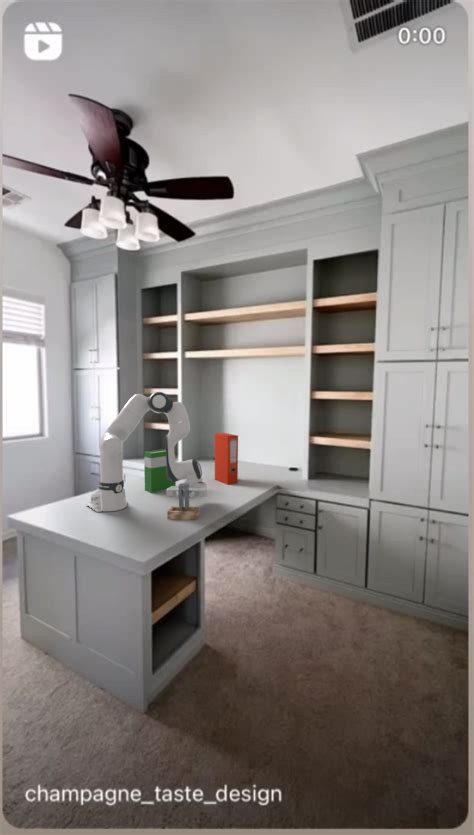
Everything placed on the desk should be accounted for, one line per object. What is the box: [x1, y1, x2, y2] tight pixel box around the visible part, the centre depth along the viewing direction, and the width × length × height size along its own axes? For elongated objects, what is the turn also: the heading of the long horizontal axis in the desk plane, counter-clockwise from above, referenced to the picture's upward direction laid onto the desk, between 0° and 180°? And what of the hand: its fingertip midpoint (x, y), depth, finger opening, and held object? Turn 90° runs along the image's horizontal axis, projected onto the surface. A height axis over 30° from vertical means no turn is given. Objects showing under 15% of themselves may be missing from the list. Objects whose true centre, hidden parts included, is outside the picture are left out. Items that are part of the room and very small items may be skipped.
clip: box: [178, 482, 190, 510], centre depth 181 cm, size 4×4×12 cm
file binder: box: [214, 432, 239, 486], centre depth 250 cm, size 8×17×32 cm, turn 32°
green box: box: [143, 448, 177, 494], centre depth 231 cm, size 18×7×24 cm, turn 135°
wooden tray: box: [166, 506, 200, 520], centre depth 181 cm, size 14×8×4 cm, turn 84°
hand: (183, 496), depth 180 cm, fingers closed on clip, 4 cm apart
